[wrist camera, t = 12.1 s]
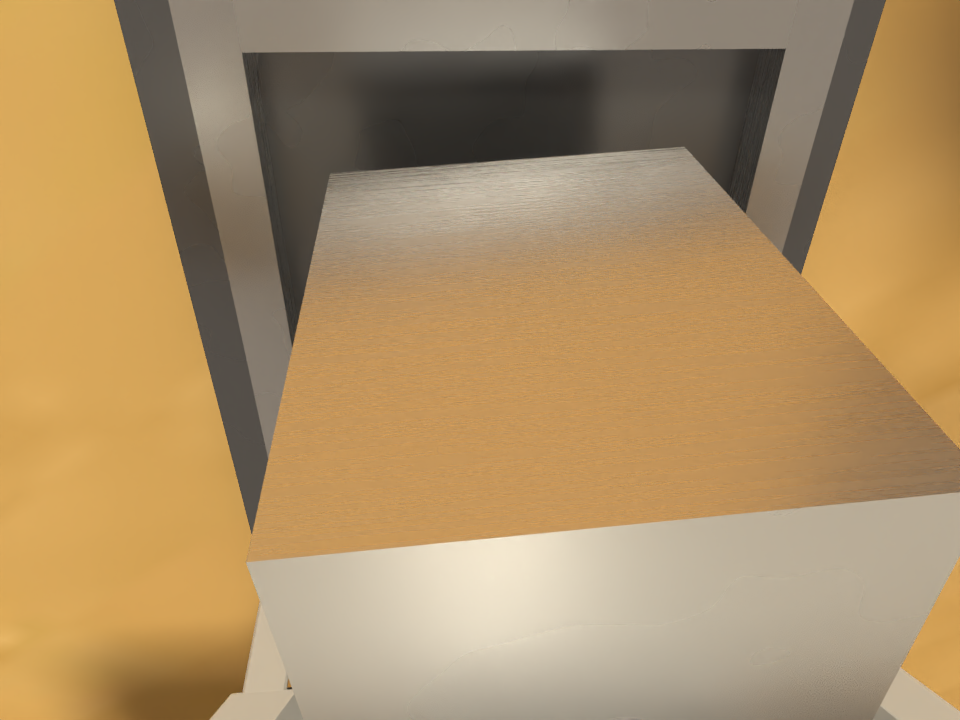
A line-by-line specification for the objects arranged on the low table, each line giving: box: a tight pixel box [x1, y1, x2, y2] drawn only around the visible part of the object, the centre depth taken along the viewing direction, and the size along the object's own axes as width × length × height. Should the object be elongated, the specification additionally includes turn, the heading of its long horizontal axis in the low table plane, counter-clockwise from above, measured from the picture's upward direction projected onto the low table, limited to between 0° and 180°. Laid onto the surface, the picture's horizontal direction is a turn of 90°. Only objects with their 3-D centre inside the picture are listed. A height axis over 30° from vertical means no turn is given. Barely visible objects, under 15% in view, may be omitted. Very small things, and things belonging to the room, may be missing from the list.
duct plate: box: [114, 0, 886, 533], centre depth 15 cm, size 19×11×2 cm, turn 179°
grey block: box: [246, 147, 960, 720], centre depth 10 cm, size 4×12×6 cm, turn 2°
